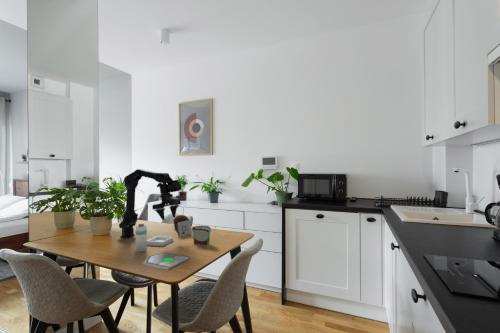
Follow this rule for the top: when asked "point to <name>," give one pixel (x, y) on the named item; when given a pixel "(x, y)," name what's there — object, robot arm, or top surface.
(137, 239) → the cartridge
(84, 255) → the top surface
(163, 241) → the tray
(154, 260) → the white flat slab
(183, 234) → the electrical switch
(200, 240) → the food container
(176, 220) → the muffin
